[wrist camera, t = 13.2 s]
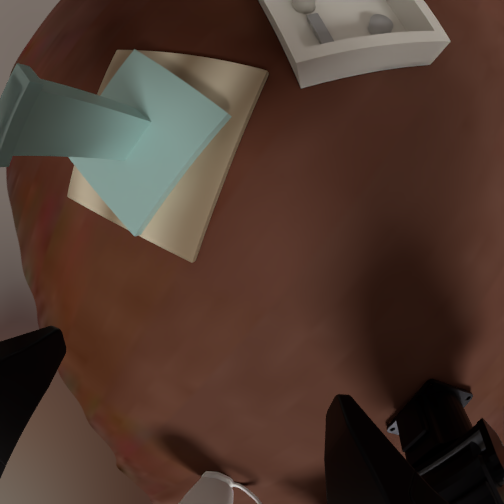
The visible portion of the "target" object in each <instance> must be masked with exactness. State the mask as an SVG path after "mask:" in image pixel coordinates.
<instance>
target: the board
mask: <svg viewBox="0 0 504 504" xmlns="http://www.w3.org/2000/svg"><path fill="white" fill-rule="evenodd" d="M137 51H139V52H140V53H142V54H143V55H145V56H147V57H148V58H150V59H151V60H153V61H155V62H156V63H158V64H159V65H161V66H162V67H164V68H165V69H167V70H168V71H170V72H171V73H173V74H174V75H176V76H177V77H179V78H180V79H182V80H183V81H184V82H186V83H187V84H189V85H190V86H192V87H193V88H194V89H196V90H197V91H199V92H200V93H201V94H203V95H204V96H205V97H207V98H208V99H210V100H211V101H212V102H214V103H215V104H216V105H218V106H219V107H220V108H221V109H223V110H224V111H225V112H227V113H228V114H229V115H230V116H232V117H231V118H230V119H229V121H228V122H227V123H226V124H225V125H224V126H223V127H222V129H221V130H220V131H219V132H218V133H217V134H216V136H215V137H214V138H213V139H212V140H211V142H210V143H209V144H208V145H207V146H206V148H205V149H204V150H203V151H202V152H201V154H200V155H199V156H198V157H197V159H196V160H195V161H194V162H193V164H192V165H191V166H190V167H189V169H188V170H187V171H186V173H185V174H184V175H183V177H182V178H181V179H180V180H179V182H178V183H177V184H176V186H175V187H174V188H173V190H172V191H171V192H170V194H169V195H168V197H167V198H166V199H165V201H164V202H163V204H162V205H161V206H160V208H159V209H158V211H157V212H156V213H155V215H154V216H153V218H152V219H151V221H150V222H149V224H148V225H147V226H146V228H145V229H144V231H143V232H142V234H141V235H139V236H141V237H142V238H144V239H146V240H148V241H150V242H152V243H154V244H156V245H158V246H160V247H162V248H164V249H166V250H168V251H170V252H172V253H174V254H176V255H178V256H180V257H182V258H184V259H186V260H188V261H190V262H192V263H193V262H194V261H196V258H197V255H198V252H199V249H200V246H201V244H202V241H203V238H204V235H205V232H206V229H207V227H208V224H209V221H210V218H211V215H212V213H213V210H214V207H215V205H216V202H217V199H218V196H219V194H220V191H221V188H222V186H223V183H224V181H225V178H226V175H227V173H228V170H229V168H230V165H231V163H232V160H233V158H234V155H235V153H236V150H237V148H238V145H239V143H240V140H241V138H242V135H243V133H244V131H245V128H246V126H247V123H248V121H249V119H250V116H251V114H252V112H253V109H254V107H255V105H256V102H257V100H258V98H259V95H260V93H261V91H262V89H263V86H264V84H265V82H266V80H267V77H268V75H269V73H268V71H267V70H263V69H259V68H255V67H251V66H247V65H243V64H238V63H233V62H229V61H224V60H218V59H213V58H207V57H201V56H194V55H186V54H178V53H169V52H157V51H142V50H137ZM132 52H133V50H117V51H116V53H115V55H114V57H113V59H112V61H111V63H110V65H109V67H108V70H107V72H106V74H105V76H104V79H103V81H102V83H101V86H100V88H99V91H98V93H97V95H99V96H100V95H101V94H102V92H103V91H104V89H105V88H106V86H107V85H108V83H109V82H110V80H111V79H112V78H113V76H114V75H115V74H116V72H117V71H118V69H119V68H120V67H121V65H122V64H123V63H124V62H125V60H126V59H127V58H128V57H129V55H130V54H131V53H132ZM67 197H69V198H70V199H72V200H74V201H76V202H78V203H79V204H81V205H83V206H85V207H87V208H88V209H90V210H92V211H94V212H96V213H97V214H99V215H101V216H103V217H105V218H107V219H109V220H110V221H112V222H114V223H116V224H118V225H120V226H122V227H123V228H125V229H127V228H126V226H125V225H124V224H123V223H122V222H121V221H120V220H119V218H118V217H117V216H116V215H115V214H114V213H113V211H112V210H111V209H110V208H109V207H108V206H107V204H106V203H105V202H104V201H103V200H102V199H101V197H100V196H99V195H98V194H97V193H96V191H95V190H94V189H93V188H92V186H91V185H90V184H89V183H88V181H87V180H86V179H85V178H84V176H83V175H82V174H81V173H80V171H79V170H78V169H77V168H76V166H75V165H74V168H73V172H72V177H71V181H70V186H69V190H68V195H67ZM127 230H128V229H127Z"/></svg>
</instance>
